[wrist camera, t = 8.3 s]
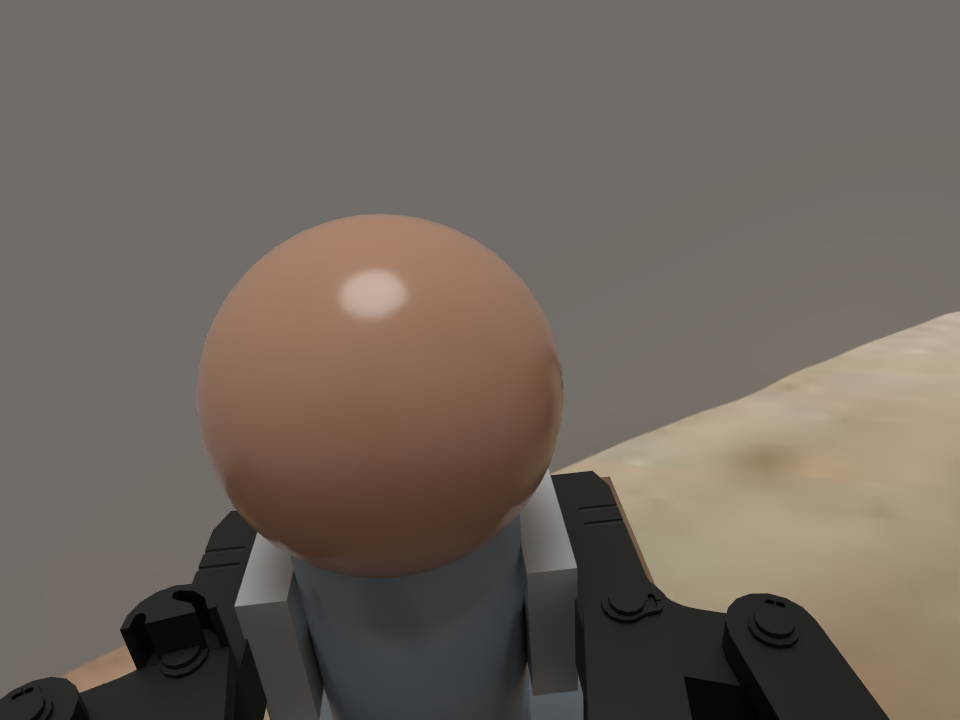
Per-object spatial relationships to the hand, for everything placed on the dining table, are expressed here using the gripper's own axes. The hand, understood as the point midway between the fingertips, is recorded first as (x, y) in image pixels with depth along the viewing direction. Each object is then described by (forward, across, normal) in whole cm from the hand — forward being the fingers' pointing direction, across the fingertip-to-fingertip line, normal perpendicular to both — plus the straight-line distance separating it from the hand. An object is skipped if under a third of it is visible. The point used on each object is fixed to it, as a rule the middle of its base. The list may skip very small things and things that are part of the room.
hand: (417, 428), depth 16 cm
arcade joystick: (-5, 0, -8) cm, 9 cm away
